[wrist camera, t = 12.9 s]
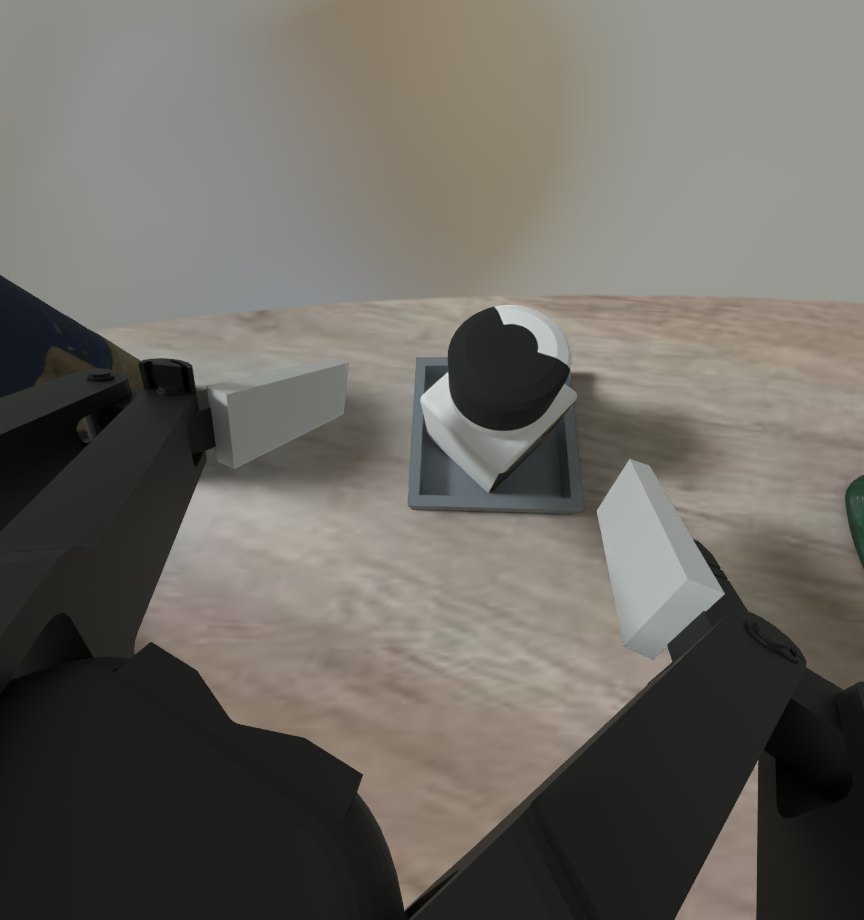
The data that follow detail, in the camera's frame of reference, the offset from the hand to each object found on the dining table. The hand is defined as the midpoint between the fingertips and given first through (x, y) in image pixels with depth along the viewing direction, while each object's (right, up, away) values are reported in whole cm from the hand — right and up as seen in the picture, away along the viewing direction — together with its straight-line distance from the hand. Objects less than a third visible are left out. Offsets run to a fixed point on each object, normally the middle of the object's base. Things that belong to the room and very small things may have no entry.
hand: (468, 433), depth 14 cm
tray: (+3, +1, +13) cm, 13 cm away
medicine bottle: (+3, +1, +12) cm, 13 cm away
